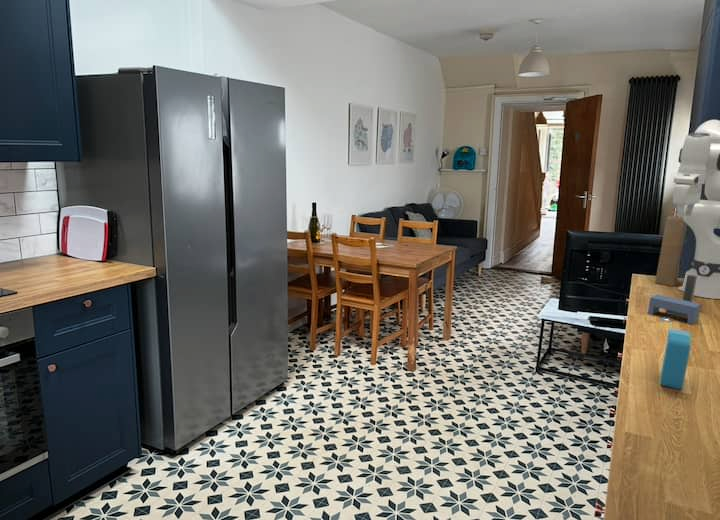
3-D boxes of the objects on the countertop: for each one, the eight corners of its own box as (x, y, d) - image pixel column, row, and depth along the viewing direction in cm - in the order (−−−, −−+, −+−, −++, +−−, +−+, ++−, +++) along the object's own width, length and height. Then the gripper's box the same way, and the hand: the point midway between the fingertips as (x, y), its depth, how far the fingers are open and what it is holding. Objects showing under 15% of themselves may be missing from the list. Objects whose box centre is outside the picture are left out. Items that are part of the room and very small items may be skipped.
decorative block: (677, 281, 241) (689, 216, 235) (674, 286, 229) (686, 219, 223) (659, 277, 246) (670, 214, 239) (654, 283, 234) (666, 217, 227)
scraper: (676, 306, 198) (682, 273, 195) (697, 311, 193) (704, 277, 190) (665, 312, 189) (672, 277, 186) (687, 317, 184) (694, 282, 181)
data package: (661, 370, 136) (669, 326, 134) (681, 374, 134) (690, 330, 131) (660, 387, 126) (669, 340, 123) (682, 392, 124) (691, 344, 121)
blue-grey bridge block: (654, 310, 191) (657, 294, 190) (698, 320, 181) (701, 304, 180) (647, 313, 187) (650, 297, 185) (692, 324, 177) (695, 307, 175)
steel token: (661, 318, 182) (662, 316, 182) (674, 321, 180) (675, 319, 179) (658, 320, 180) (658, 318, 179) (671, 324, 177) (671, 321, 177)
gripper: (689, 177, 199) (683, 213, 202) (672, 177, 185) (665, 216, 188) (708, 179, 194) (701, 215, 197) (692, 179, 181) (685, 218, 183)
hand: (684, 216), depth 193 cm, fingers open, 8 cm apart
